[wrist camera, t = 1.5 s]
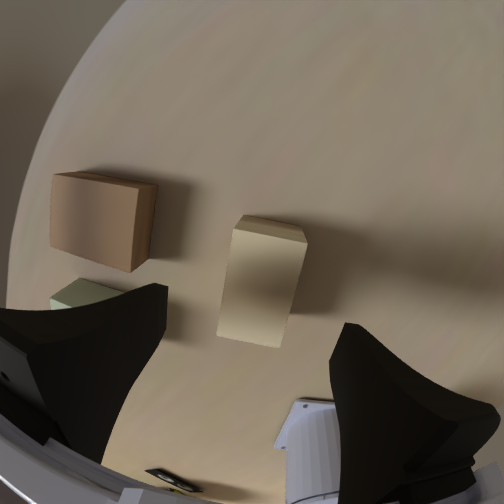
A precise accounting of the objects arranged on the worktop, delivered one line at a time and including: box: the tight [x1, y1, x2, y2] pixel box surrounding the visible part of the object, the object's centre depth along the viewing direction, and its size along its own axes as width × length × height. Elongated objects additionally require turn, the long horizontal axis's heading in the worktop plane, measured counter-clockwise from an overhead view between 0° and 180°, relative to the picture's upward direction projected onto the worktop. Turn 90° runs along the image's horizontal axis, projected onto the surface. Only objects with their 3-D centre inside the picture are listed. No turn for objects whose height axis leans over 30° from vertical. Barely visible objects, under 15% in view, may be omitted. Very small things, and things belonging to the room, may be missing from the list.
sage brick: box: [50, 278, 124, 310], centre depth 18 cm, size 6×4×4 cm, turn 79°
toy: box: [144, 470, 202, 496], centre depth 28 cm, size 9×10×30 cm
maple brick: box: [217, 215, 308, 348], centre depth 16 cm, size 6×4×4 cm, turn 170°
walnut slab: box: [50, 172, 158, 273], centre depth 16 cm, size 7×5×3 cm
